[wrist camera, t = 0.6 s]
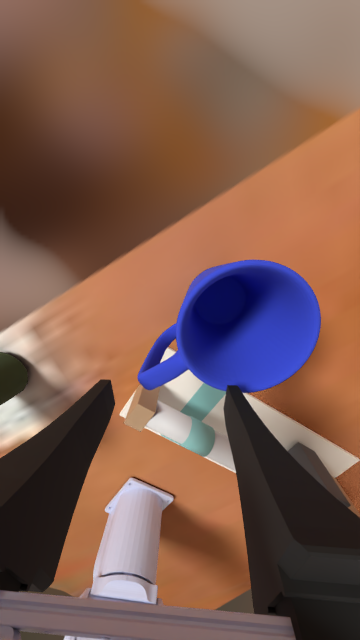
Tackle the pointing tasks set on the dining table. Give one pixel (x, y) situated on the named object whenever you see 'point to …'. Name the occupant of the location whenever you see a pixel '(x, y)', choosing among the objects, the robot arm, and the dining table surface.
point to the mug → (239, 329)
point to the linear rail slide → (220, 423)
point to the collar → (317, 470)
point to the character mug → (11, 377)
